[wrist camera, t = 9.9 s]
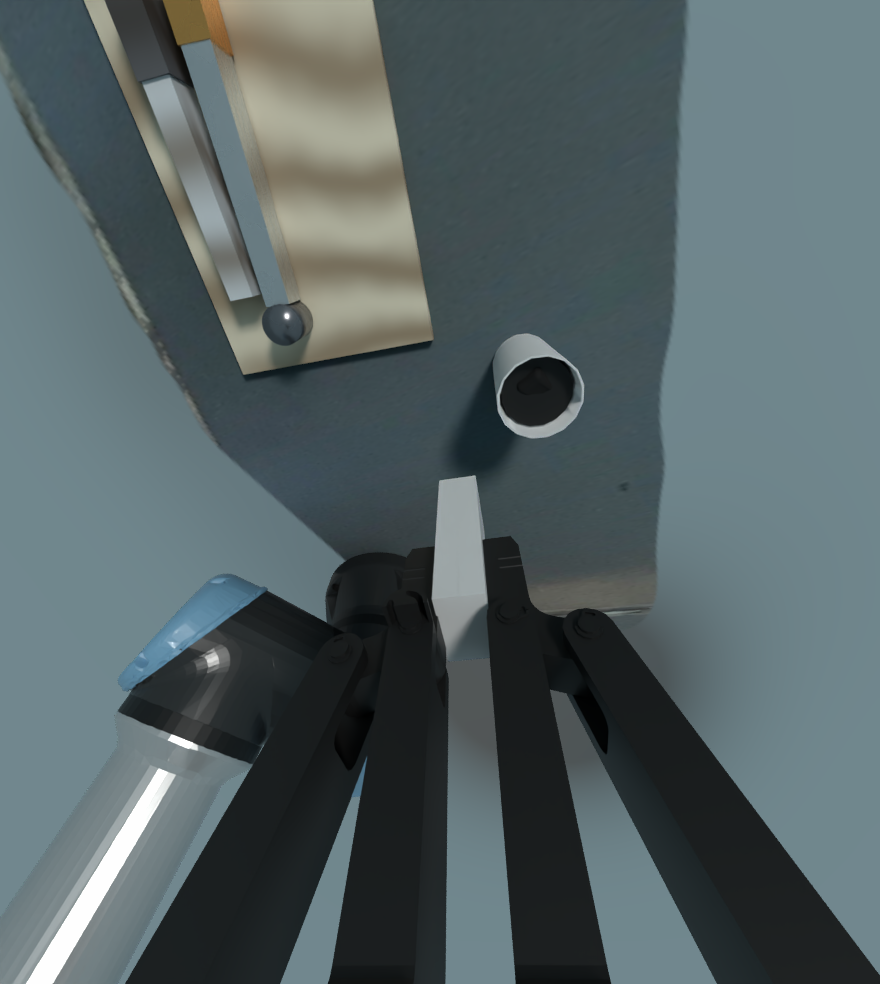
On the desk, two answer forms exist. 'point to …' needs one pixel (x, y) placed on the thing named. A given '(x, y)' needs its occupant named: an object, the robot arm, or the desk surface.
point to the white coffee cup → (535, 387)
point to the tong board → (285, 169)
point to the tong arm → (240, 162)
